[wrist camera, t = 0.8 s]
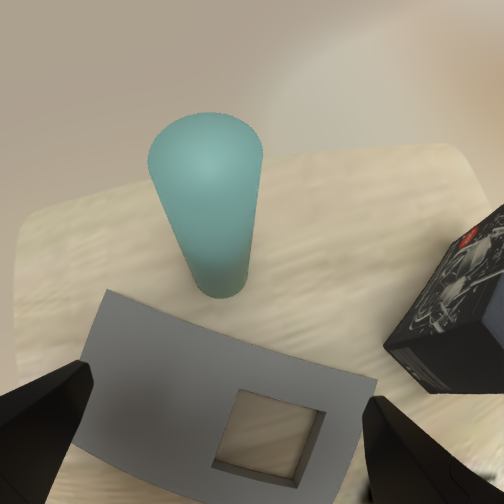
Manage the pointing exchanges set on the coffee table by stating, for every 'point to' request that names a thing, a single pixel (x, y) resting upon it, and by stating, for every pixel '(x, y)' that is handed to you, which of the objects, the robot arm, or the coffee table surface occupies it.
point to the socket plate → (207, 407)
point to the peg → (210, 195)
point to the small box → (459, 318)
